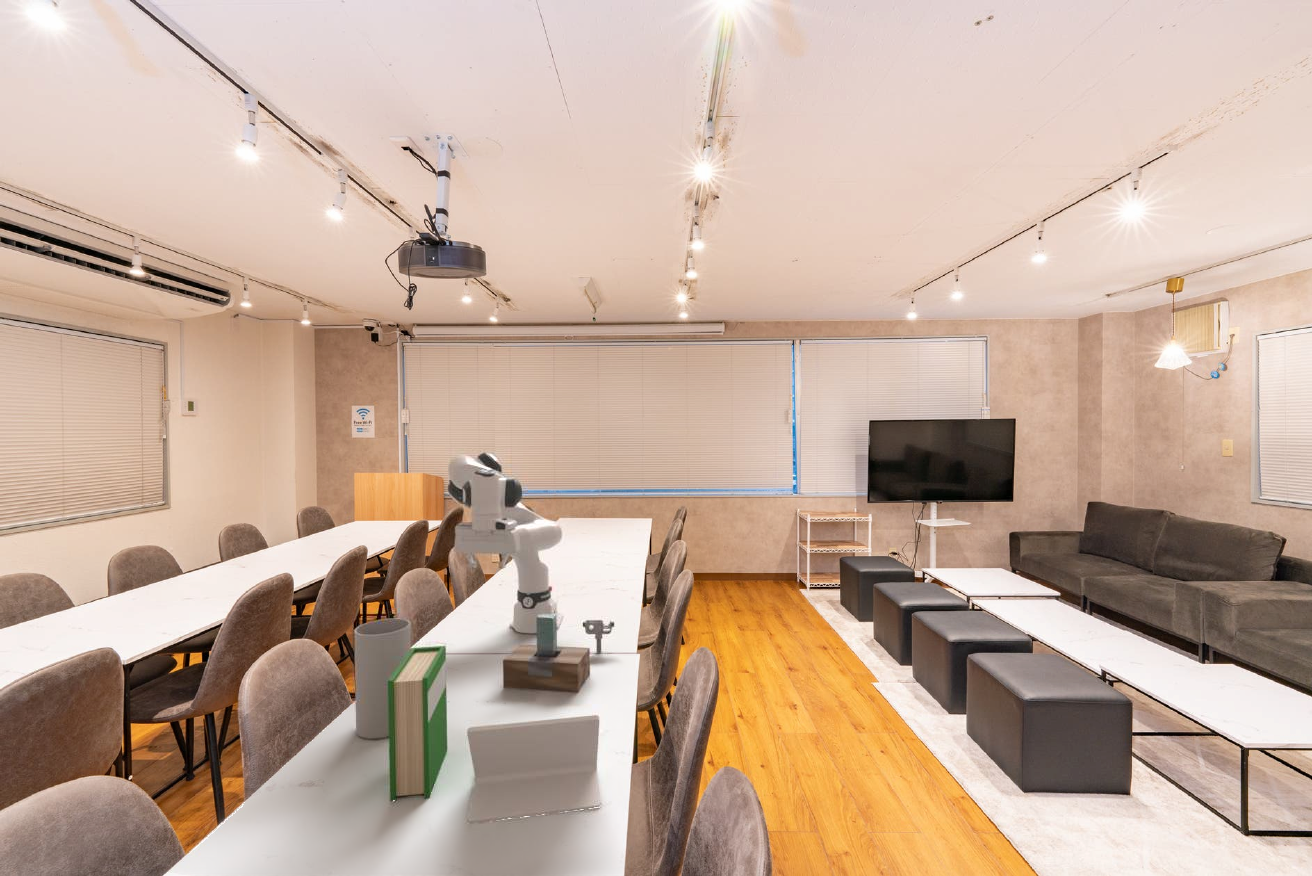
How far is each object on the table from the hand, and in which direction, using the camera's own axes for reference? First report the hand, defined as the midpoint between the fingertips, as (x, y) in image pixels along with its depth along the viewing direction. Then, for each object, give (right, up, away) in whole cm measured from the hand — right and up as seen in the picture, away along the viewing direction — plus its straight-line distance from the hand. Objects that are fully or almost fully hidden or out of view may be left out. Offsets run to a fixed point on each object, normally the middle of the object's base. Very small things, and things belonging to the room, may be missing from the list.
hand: (487, 567), depth 179 cm
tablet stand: (+27, -32, -60) cm, 73 cm away
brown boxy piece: (+20, -31, -9) cm, 38 cm away
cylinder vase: (-15, -32, -35) cm, 50 cm away
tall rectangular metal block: (+20, -27, -9) cm, 35 cm away
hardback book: (+2, -32, -55) cm, 63 cm away
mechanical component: (+33, -31, +13) cm, 47 cm away
